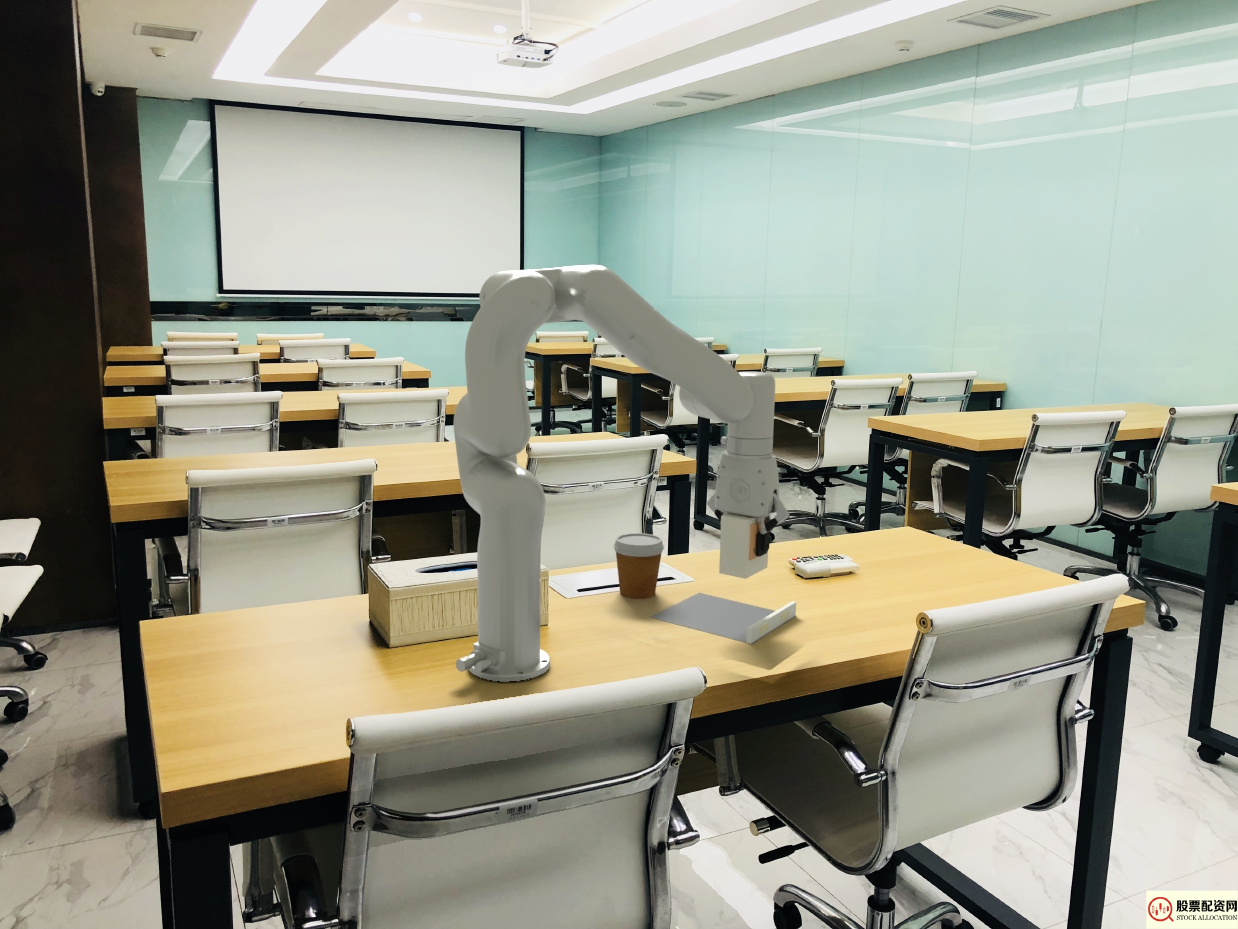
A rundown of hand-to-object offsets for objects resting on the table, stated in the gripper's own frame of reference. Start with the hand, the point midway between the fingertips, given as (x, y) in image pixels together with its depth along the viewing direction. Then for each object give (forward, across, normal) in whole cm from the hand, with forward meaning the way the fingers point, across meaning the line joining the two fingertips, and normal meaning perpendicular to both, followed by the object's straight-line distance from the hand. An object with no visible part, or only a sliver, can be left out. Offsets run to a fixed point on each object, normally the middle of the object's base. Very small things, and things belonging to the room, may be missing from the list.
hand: (745, 550), depth 158 cm
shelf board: (+14, -4, +1) cm, 15 cm away
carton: (+4, 0, 0) cm, 4 cm away
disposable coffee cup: (+15, -23, +2) cm, 27 cm away
